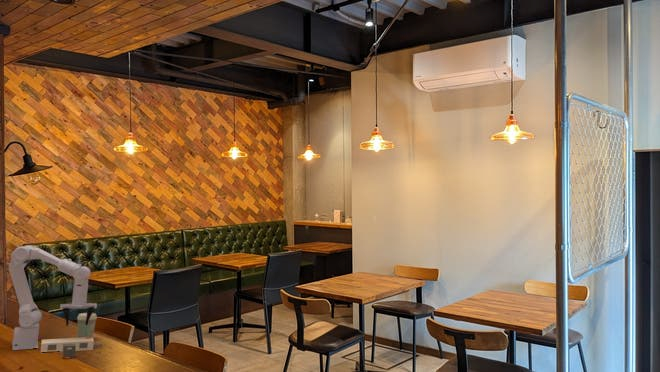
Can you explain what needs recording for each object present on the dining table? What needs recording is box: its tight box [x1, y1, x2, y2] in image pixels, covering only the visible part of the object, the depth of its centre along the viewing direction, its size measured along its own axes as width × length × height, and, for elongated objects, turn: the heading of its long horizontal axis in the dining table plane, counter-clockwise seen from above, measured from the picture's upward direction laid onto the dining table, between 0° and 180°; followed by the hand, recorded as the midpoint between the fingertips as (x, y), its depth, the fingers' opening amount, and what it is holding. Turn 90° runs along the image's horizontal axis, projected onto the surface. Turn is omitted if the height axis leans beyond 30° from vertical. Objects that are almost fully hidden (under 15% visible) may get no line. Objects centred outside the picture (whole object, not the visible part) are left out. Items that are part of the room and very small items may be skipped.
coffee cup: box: [76, 312, 98, 338], centre depth 232 cm, size 8×9×12 cm
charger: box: [61, 343, 76, 359], centre depth 205 cm, size 4×6×5 cm
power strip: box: [40, 337, 103, 353], centre depth 216 cm, size 24×7×4 cm, turn 120°
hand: (76, 325), depth 219 cm, fingers open, 7 cm apart
